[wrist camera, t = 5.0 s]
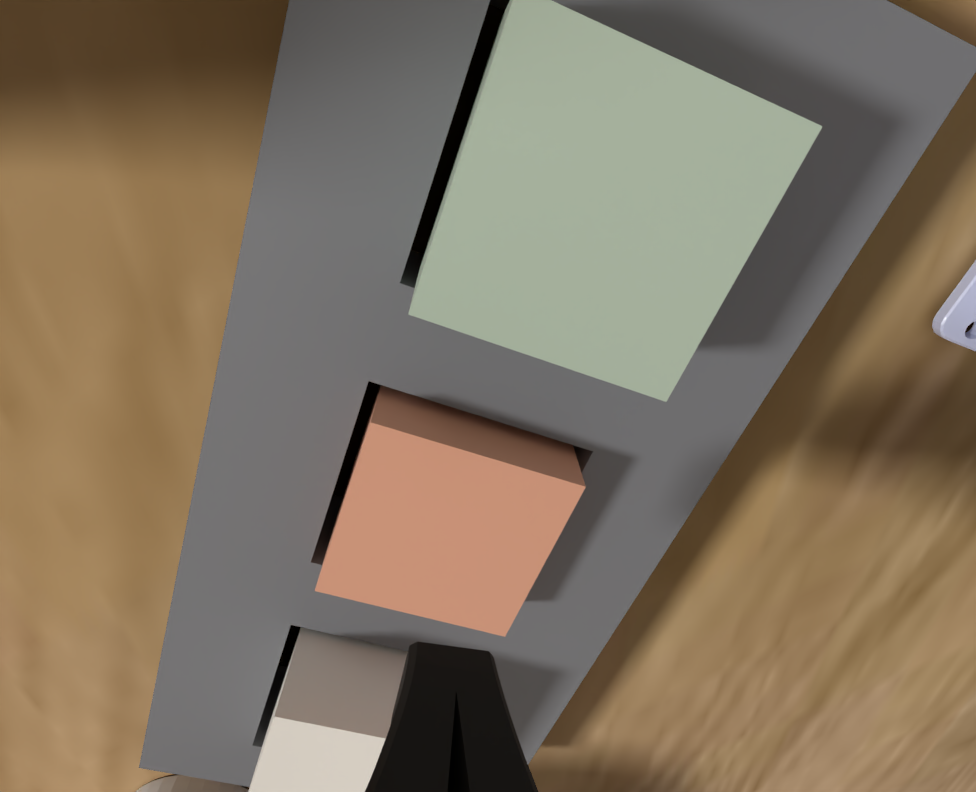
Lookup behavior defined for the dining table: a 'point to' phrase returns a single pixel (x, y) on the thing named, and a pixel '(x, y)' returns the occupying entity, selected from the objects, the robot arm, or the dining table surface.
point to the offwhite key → (329, 715)
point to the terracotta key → (448, 513)
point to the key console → (481, 364)
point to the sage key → (601, 200)
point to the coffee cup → (189, 785)
